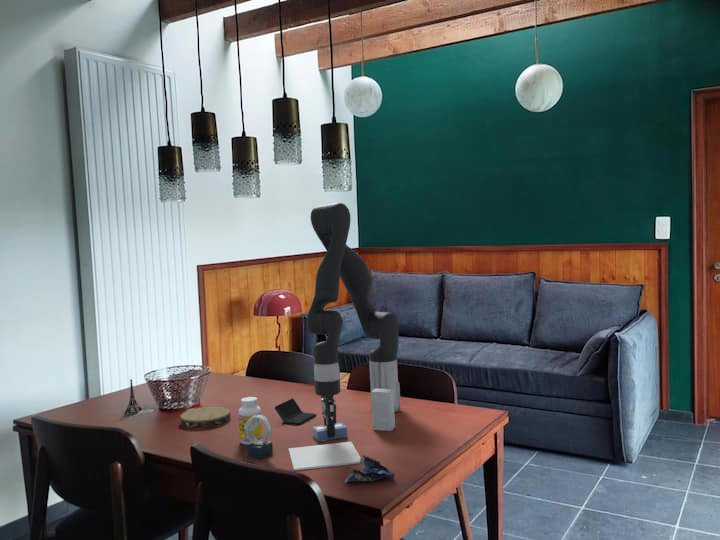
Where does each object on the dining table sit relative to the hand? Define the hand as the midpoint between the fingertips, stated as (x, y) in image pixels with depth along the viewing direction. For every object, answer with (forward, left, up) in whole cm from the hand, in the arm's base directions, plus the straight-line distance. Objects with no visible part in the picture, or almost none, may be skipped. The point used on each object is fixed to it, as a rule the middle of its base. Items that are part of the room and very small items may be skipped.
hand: (329, 433), depth 190 cm
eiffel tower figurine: (+63, -49, -2) cm, 79 cm away
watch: (+21, +9, -1) cm, 23 cm away
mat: (+4, +16, -1) cm, 17 cm away
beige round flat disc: (+37, -29, -2) cm, 47 cm away
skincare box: (-17, -2, -1) cm, 17 cm away
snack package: (-5, +35, -2) cm, 35 cm away
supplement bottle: (+23, -3, -1) cm, 23 cm away
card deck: (0, 0, -1) cm, 1 cm away
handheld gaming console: (+8, -21, -1) cm, 23 cm away
